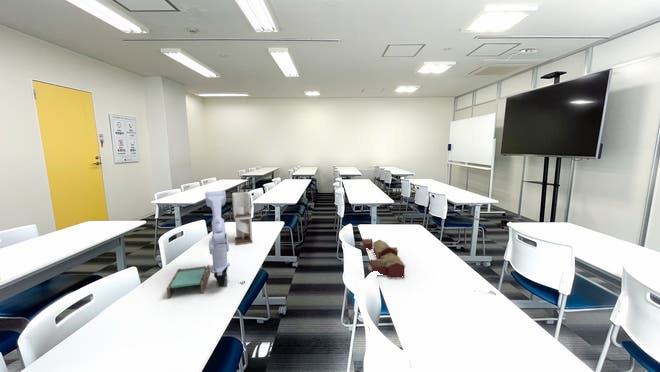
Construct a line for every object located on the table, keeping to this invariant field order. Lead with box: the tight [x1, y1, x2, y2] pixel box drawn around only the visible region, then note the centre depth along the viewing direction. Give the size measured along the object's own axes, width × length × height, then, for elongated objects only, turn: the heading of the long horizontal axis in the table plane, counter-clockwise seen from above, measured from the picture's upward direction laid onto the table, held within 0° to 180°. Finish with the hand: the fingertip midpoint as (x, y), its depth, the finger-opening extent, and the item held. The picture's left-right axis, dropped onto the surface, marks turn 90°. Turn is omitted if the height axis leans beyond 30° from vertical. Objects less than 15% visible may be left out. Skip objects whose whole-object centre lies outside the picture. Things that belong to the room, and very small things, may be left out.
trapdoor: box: [170, 265, 207, 289], centre depth 127 cm, size 18×12×3 cm
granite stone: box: [216, 273, 229, 289], centre depth 128 cm, size 4×4×4 cm
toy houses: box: [359, 238, 407, 278], centre depth 157 cm, size 45×20×10 cm, turn 3°
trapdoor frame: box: [166, 264, 211, 300], centre depth 128 cm, size 20×15×5 cm
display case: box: [231, 191, 253, 246], centre depth 185 cm, size 11×11×35 cm
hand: (222, 282), depth 128 cm, fingers open, 7 cm apart
